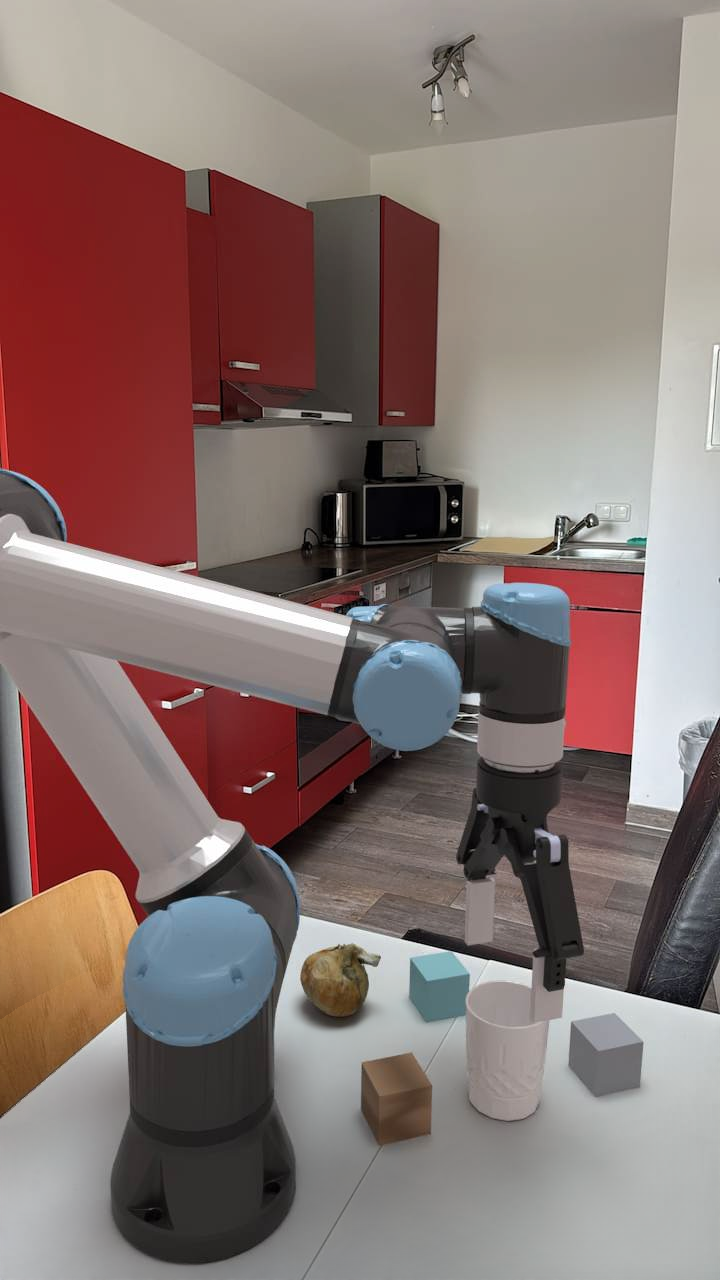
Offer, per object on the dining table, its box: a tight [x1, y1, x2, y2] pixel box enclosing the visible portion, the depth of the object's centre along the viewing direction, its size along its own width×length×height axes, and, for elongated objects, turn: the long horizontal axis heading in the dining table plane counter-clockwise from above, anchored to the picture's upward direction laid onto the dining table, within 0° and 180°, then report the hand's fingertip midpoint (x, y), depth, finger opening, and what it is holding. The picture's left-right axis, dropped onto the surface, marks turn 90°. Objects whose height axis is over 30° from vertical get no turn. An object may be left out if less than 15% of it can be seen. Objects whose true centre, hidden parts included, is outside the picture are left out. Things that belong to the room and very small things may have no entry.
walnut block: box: [360, 1052, 433, 1146], centre depth 87 cm, size 5×5×5 cm
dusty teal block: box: [408, 950, 471, 1023], centre depth 106 cm, size 5×5×5 cm
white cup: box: [465, 979, 551, 1122], centre depth 90 cm, size 8×8×10 cm
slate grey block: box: [568, 1012, 645, 1098], centre depth 94 cm, size 5×5×5 cm
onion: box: [299, 942, 382, 1018], centre depth 105 cm, size 8×8×8 cm
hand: (509, 977), depth 89 cm, fingers open, 13 cm apart
